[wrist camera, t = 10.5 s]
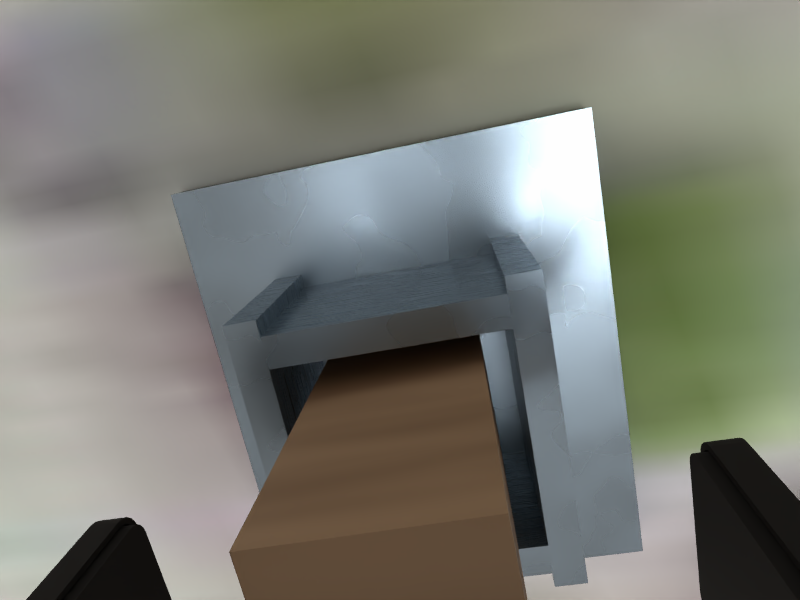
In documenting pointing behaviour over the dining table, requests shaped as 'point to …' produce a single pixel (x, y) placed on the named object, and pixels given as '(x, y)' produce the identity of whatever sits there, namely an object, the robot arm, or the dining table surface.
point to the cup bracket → (439, 306)
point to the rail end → (388, 487)
